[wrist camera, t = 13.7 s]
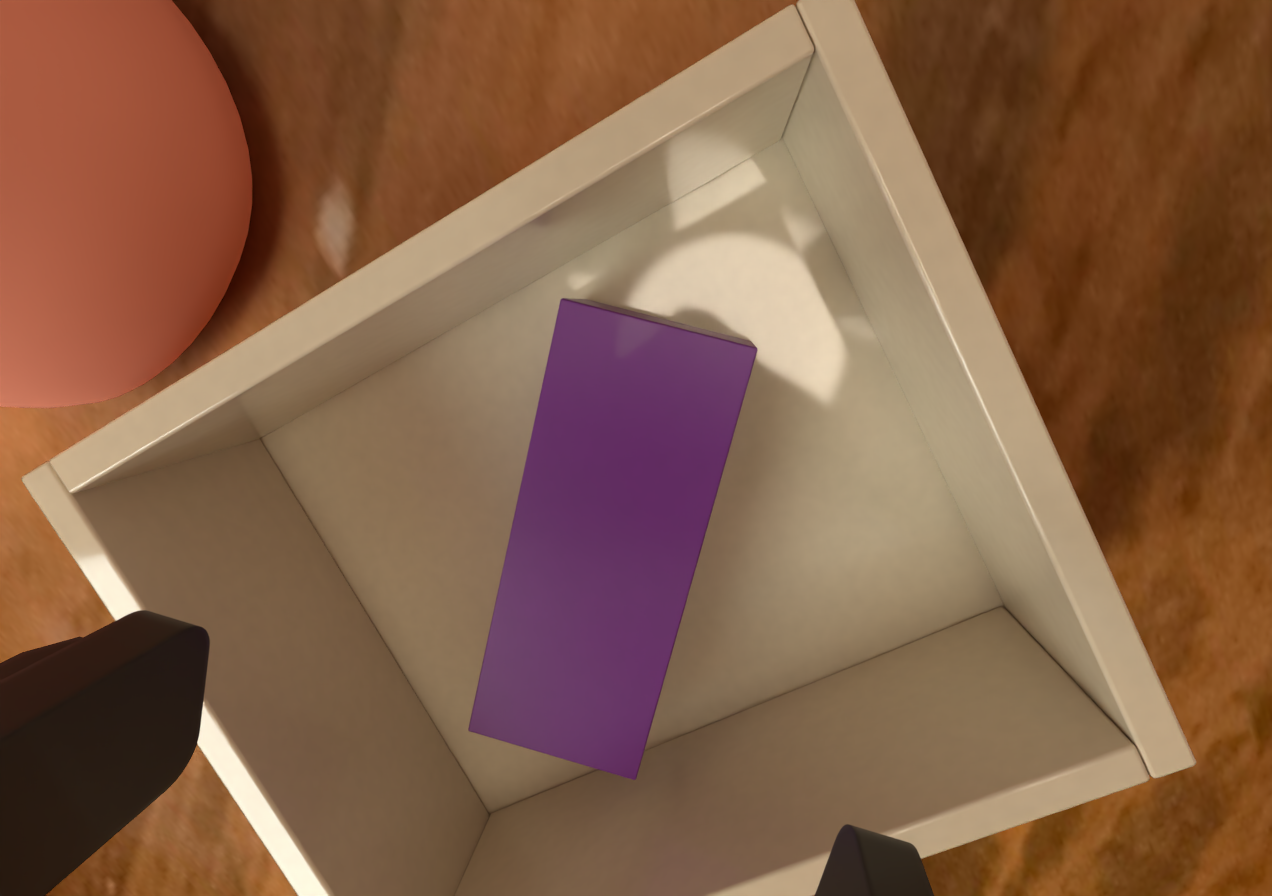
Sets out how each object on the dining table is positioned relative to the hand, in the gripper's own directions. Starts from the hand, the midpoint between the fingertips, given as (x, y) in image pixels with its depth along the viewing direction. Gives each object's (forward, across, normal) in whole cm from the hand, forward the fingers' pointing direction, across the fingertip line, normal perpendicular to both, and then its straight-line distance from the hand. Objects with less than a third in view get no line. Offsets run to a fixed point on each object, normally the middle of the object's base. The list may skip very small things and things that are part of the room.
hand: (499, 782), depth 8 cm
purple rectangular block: (+11, 0, 0) cm, 11 cm away
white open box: (+12, 0, 0) cm, 12 cm away
